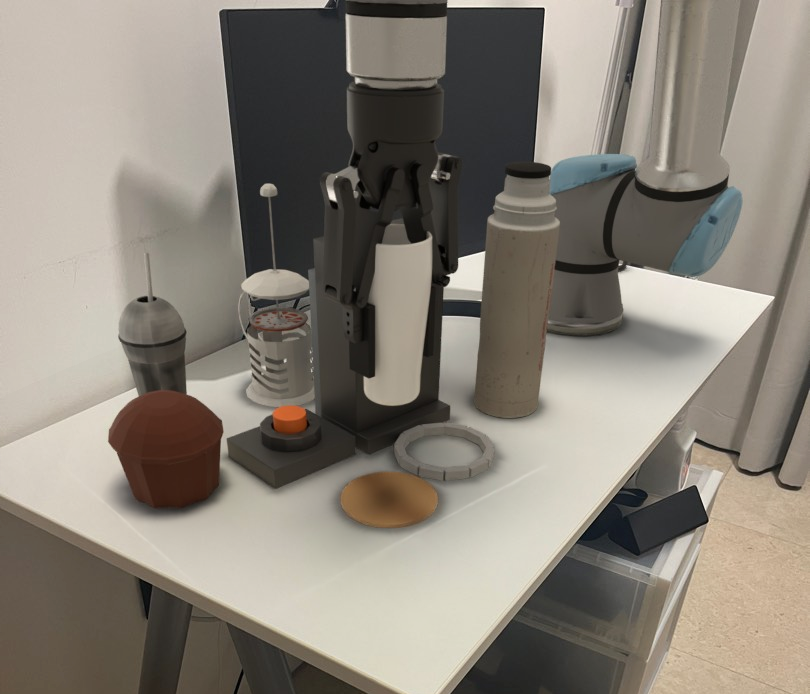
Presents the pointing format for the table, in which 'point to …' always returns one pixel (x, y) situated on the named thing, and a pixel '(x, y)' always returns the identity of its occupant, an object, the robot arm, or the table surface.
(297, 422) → the power button
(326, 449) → the power switch
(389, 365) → the drinking glass
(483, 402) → the thermos bottle
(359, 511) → the disc
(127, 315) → the beverage cup
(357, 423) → the coffee maker
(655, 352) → the table surface
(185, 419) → the muffin
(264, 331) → the french press
